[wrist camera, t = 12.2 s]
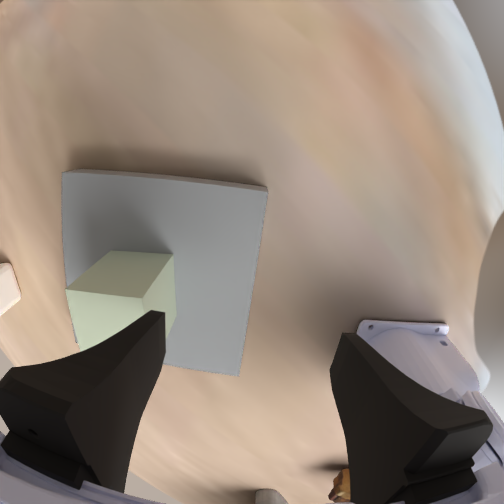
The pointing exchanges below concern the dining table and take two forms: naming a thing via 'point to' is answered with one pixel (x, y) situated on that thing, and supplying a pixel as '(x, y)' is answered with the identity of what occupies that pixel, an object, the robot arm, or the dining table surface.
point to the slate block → (175, 250)
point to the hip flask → (269, 497)
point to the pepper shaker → (8, 288)
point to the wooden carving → (341, 488)
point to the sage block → (121, 294)
